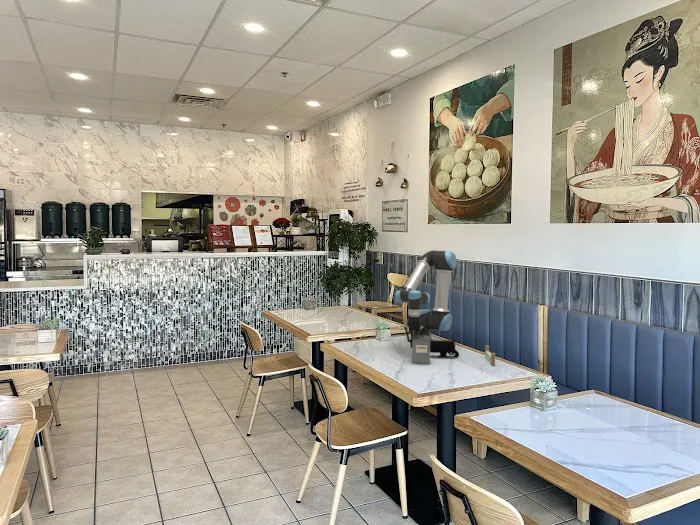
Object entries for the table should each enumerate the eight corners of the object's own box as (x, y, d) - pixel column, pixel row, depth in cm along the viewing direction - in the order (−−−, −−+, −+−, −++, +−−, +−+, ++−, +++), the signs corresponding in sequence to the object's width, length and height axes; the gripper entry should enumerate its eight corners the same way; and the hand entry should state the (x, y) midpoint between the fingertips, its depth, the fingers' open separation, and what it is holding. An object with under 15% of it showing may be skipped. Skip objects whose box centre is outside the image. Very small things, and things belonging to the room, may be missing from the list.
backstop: (485, 356, 328) (485, 345, 328) (488, 356, 328) (488, 345, 327) (491, 365, 307) (491, 353, 307) (494, 365, 307) (495, 353, 307)
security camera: (459, 358, 322) (460, 342, 322) (429, 358, 323) (430, 342, 322) (457, 355, 329) (458, 340, 328) (428, 355, 329) (428, 339, 329)
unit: (411, 358, 320) (411, 335, 319) (429, 359, 319) (429, 335, 318) (412, 363, 309) (412, 339, 308) (430, 364, 308) (431, 339, 307)
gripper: (403, 316, 322) (403, 354, 324) (425, 316, 321) (424, 354, 323) (403, 314, 330) (402, 351, 331) (424, 314, 329) (423, 351, 330)
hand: (413, 352), depth 327 cm, fingers closed
